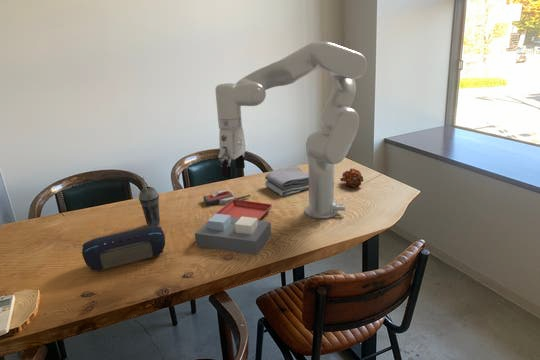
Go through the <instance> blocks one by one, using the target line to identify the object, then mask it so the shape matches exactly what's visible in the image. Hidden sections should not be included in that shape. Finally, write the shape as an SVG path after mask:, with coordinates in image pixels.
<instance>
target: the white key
mask: <svg viewBox="0 0 540 360" xmlns="http://www.w3.org/2000/svg"><path fill="white" fill-rule="evenodd" d="M257 228H258V218H251V217H241V218H240V219H239V220H238V221H237V222H236V223H235V232H236V233H241V234H249V235H253V234H254V232H255V231H256V230H257Z"/></svg>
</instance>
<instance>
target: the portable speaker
mask: <svg viewBox="0 0 540 360" xmlns="http://www.w3.org/2000/svg"><path fill="white" fill-rule="evenodd" d="M165 245H166V236H165V233H164V230H163V228H162V226H160V225H159V226H148V225H147V226H145V227H144V226H143V227H139V228H135V229H131V230H127V231H123V232H117V233H114V234H108V235H105V236H104V235H103V236H100V237H95V238H92V239H89V240H87V241H86V242H84V243H83V244H82V250H81V254H82V258H83V260H84V263H85V265H86V266H87V267H88V268H90V270H91V271H97V272H98V271H103V270H107V269H110V268H114V267H118V266H122V265H125V264H130V263H134V262H137V261H141V260H145V259H150V258H153V257H157V256H158V257H159V256H160V254H162V253H163V252H164V249H165Z"/></svg>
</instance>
